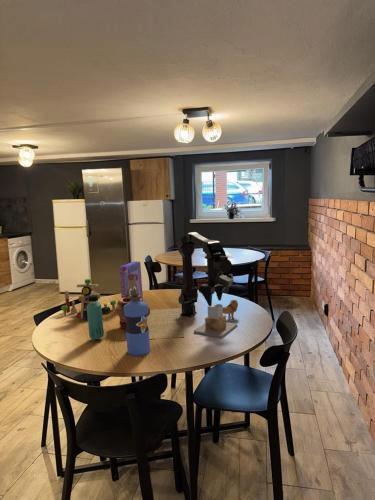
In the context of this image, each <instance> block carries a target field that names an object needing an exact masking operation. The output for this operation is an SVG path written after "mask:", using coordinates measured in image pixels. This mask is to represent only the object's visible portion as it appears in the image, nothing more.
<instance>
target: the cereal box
mask: <svg viewBox="0 0 375 500" xmlns="http://www.w3.org/2000/svg"><path fill="white" fill-rule="evenodd" d="M118 268H119V269H118V271H119V282H120V283H119V284H120V294H121V295H120V296H121V299H122V298H128V297H130V296H131V295H130V293H131V292H132V291H133V290H137V291H138V292H139V293H140V294H139V295H140V296H141V299H142V301H143V300H144V297H143V281H142V267H141V261H131V262H129V263H127V264H124V265H121V266H119V267H118Z"/></svg>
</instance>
